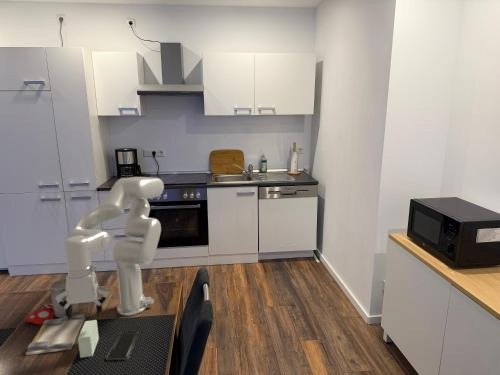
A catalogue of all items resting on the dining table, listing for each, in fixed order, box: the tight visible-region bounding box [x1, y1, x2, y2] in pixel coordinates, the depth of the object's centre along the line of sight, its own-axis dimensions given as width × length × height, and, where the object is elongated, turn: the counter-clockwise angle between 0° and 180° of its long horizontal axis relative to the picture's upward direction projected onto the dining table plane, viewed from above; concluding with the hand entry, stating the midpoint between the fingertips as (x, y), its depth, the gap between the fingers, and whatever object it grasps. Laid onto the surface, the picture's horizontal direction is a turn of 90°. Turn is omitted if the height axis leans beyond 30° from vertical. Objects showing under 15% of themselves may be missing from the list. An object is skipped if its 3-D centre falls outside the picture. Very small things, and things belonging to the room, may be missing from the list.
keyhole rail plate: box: [25, 313, 86, 356], centre depth 131 cm, size 15×19×2 cm
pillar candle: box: [49, 277, 80, 319], centre depth 145 cm, size 10×10×15 cm
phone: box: [105, 331, 140, 361], centre depth 124 cm, size 8×1×15 cm
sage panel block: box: [77, 319, 100, 359], centre depth 123 cm, size 4×10×8 cm, turn 12°
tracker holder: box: [26, 303, 55, 326], centre depth 142 cm, size 12×4×10 cm
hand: (84, 315), depth 121 cm, fingers open, 9 cm apart
